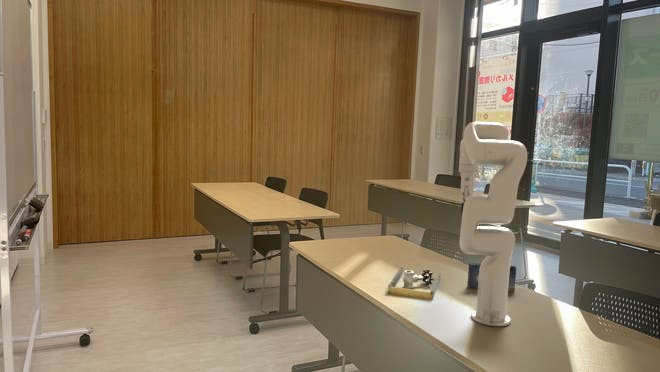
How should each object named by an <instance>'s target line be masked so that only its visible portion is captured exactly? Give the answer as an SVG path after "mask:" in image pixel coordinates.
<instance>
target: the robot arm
mask: <svg viewBox="0 0 660 372" xmlns="http://www.w3.org/2000/svg"><path fill="white" fill-rule="evenodd" d="M527 162H528V151H527V148H526V145H524V144H523V143H521V142H520V141H516V140H509V130H508V128H507V127H506V126H505V125H504V124H502V123H500V122H491V121H490V122H489V121H487V122H486V121H472V122H469V123H468V124H466V126H465V128H464V131H463V139H461V141H460V144H459V164H458V166H459V167H458V173H461V177H460V178H461V179H460V195H461V197H462V202H461V207H460V208H461V210H460V211H461V213H462V217H461V224H460V233H459V248H460V250H461V252H462V253H464V254H466V255H473V256H485V258H484V259H483V260H482V262H481V263H480V264H481V265H480V269H479V282H478V289H477V295H476V296H477V298H476V309H475V310H473V311H472V312H471V315H470V317H471V319H472V320H474V321H475V322H477V323H479V324H482V325H485V326H491V327H505V326H509V325H510V324H511V317H510V316H509V315H508V314H507V306H508V297H509V296H508V295H509V293H508V292H509V291H508V284H509V273H510V266H511V262H512V257H513V254H514V249H515V245H516V236H515V233H514V232H513V231H512V230H511V229H509V228H507V227H504V226H491V225H509V224H510V223H512V221H513V219H514V216H515V211H516V205H517V204H516V203H517V197H518V196H517V195H518V188H519V184H520V181H521V178H522V176H523V174H524V172H525V169H526V166H527ZM479 166H481V167H482V166H485V167H487V166H488V167H501V168H500V169H499V170H498V171H496V173H495V174H494V175H493V176H492V178H491V179H490V182H489V191H488V193H487V194H482V193H481V194H479V193H476V194H475V193H474V192H475V183H476V174H478V173H479V172H478V171H479Z"/></svg>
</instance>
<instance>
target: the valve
mask: <svg viewBox="0 0 660 372" xmlns="http://www.w3.org/2000/svg"><path fill="white" fill-rule="evenodd" d="M403 275H404V276H403V279H402V281H403V288H405V289H413V287H414V286H413V285H414V283H418V282H419V281H422V282H424V284H425V285H426V286H429V285H432V284H433V282H432V281H435V278H434V277H433V275H434V274H433V272H432V271H431V272H430V269H429V268H427V269H426V268H425V269H423V270H422V274H421V275H417V274H414V270H409V269H406V270H404V273H403Z"/></svg>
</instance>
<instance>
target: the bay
mask: <svg viewBox="0 0 660 372" xmlns="http://www.w3.org/2000/svg"><path fill="white" fill-rule="evenodd" d="M441 273H442V272H441V271H438V272H437V274H436V276H435V278H434V280H433V281H434V282H433V283H432V284H433V285H432V287H431V289H430V291H425V290H419V289H413V288H410V289H408V288H404V287H397V284H398V282H399V281H400V279H401V278H402V276H403V275H404V267H403V266H402V267H400V268H399V269H398V271H397V272H396V274H395V275H394V277H393V278H392V280H391V281H390V282H389V284H388V285H387V294H391V295H396V296H397V295H398V296H404V297H411V298H418V299H427V300H433V299H434V297H435V295H436V291H437V289H438V286H439V283H440V280H441ZM433 301H434V300H433Z"/></svg>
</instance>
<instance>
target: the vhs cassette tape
mask: <svg viewBox="0 0 660 372" xmlns="http://www.w3.org/2000/svg"><path fill="white" fill-rule="evenodd" d="M480 265H481V263H475V262H474V263H473V262H468V272H467V282H466V283H467V284H466V285H467V288H468V289H471V290H478V282H479V269H480ZM516 275H517V267H516V266H515V265H510V273H509V284H508V292H515V289H516V277H517V276H516Z"/></svg>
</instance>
